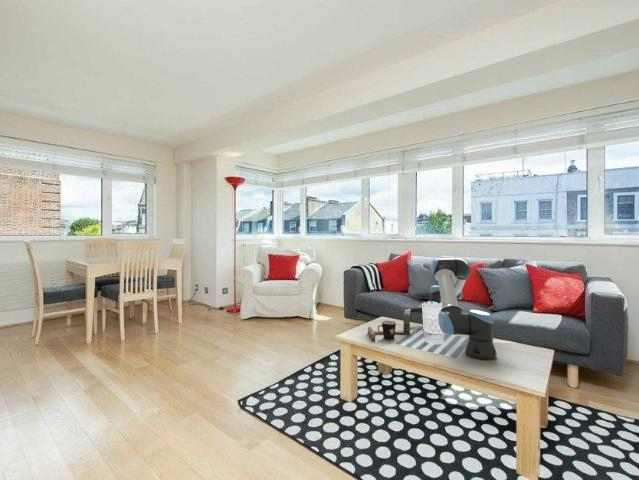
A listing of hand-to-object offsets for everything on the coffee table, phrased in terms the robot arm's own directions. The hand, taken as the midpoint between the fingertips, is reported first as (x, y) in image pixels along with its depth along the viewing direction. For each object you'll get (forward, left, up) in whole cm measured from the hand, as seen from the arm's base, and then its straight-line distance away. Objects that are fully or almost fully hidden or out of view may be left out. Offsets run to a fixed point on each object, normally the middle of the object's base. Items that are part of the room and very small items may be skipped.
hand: (414, 314), depth 218 cm
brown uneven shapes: (-14, +18, -11) cm, 25 cm away
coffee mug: (-16, +22, -11) cm, 29 cm away
